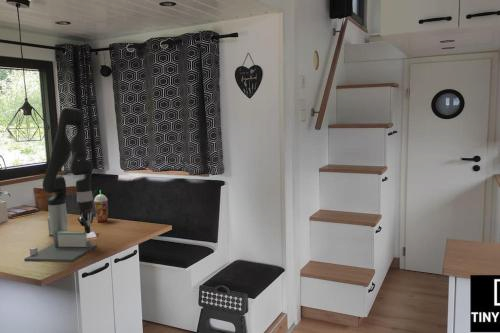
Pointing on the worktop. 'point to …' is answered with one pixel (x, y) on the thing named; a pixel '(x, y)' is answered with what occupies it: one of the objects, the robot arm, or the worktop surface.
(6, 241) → the worktop surface
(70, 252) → the gate frame
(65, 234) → the gate
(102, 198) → the smoothie
